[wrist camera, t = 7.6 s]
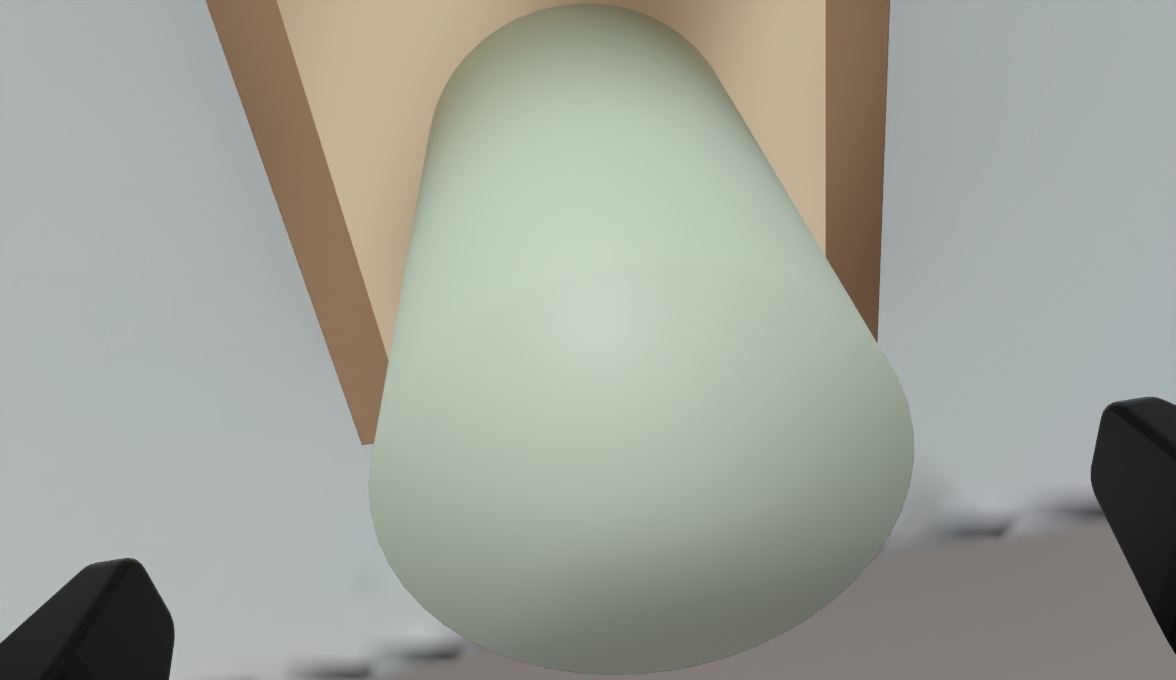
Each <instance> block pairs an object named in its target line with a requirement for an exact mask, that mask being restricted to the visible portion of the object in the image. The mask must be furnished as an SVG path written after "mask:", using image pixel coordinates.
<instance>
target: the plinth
mask: <svg viewBox="0 0 1176 680" xmlns="http://www.w3.org/2000/svg"><path fill="white" fill-rule="evenodd" d="M206 2H207V5H208V8H209V11H210V14H211V16H212V19H213V22H214V25H215V28H216V31H217V34H218V36H219V39H220V42H221V45H222V48H223V51H224V54H225V56H226V59H227V62H228V65H229V68H230V71H231V73H232V76H233V79H234V82H235V85H236V88H237V91H238V93H239V96H240V99H241V102H242V105H243V108H244V110H245V113H246V116H247V119H248V122H249V125H250V128H251V130H252V133H253V136H254V139H255V142H256V145H257V147H258V150H259V153H260V156H261V159H262V162H263V165H264V167H265V170H266V173H267V176H268V179H269V182H270V184H271V187H272V190H273V193H274V196H275V199H276V202H277V204H278V207H279V210H280V213H281V216H282V219H283V222H284V224H285V227H286V230H287V233H288V236H289V239H290V241H291V244H292V247H293V250H294V253H295V256H296V259H297V261H298V264H299V267H300V270H301V273H302V276H303V278H304V281H305V284H306V287H307V290H308V293H309V296H310V298H311V301H312V304H313V307H314V310H315V313H316V315H317V318H318V321H319V324H320V327H321V330H322V333H323V335H324V338H325V341H326V344H327V347H328V350H329V353H330V355H331V358H332V361H333V364H334V367H335V370H336V372H337V375H338V378H339V381H340V384H341V387H342V390H343V392H344V395H345V398H346V401H347V404H348V407H349V409H350V412H351V415H352V418H353V421H354V424H355V427H356V429H357V432H358V435H359V438H360V441H361V444H362V445H366V444H373V443H374V441H375V436H376V430H377V424H378V419H379V413H380V408H381V402H382V396H383V391H384V385H385V379H386V374H387V368H388V363H389V357H390V351H391V346H392V340H393V334H394V329H395V323H396V318H397V312H398V306H399V301H400V295H401V289H402V284H403V278H404V273H405V267H406V261H407V256H408V250H409V244H410V239H411V233H412V228H413V222H414V216H415V211H416V205H417V199H418V194H419V188H420V183H421V177H422V171H423V166H424V160H425V154H426V149H427V143H428V138H429V132H430V127H431V123H432V119H433V115H434V111H435V108H436V105H437V103H438V101H439V98H440V96H441V93H442V91H443V89H444V87H445V86H446V84H447V82H448V80H449V79H450V77H451V75H452V73H453V72H454V71H455V69H456V68H457V67H458V66H459V64H460V63H461V62H462V61H463V59H464V58H465V57H466V56H467V55H468V54H469V53H470V52H471V51H472V50H473V49H474V48H475V47H476V46H477V45H478V44H479V43H480V42H481V41H482V40H484V39H485V38H486V37H488V36H489V35H491V34H492V33H493V32H495V31H496V30H497V29H499V28H501V27H502V26H504V25H506V24H508V23H510V22H512V21H513V20H515V19H517V18H519V17H522V16H525V15H527V14H530V13H533V12H535V11H538V10H542V9H546V8H550V7H555V6H559V5H568V4H579V3H590V4H606V5H612V6H617V7H623V8H627V9H630V10H633V11H636V12H639V13H643V14H646V15H648V16H650V17H652V18H654V19H656V20H658V21H660V22H662V23H664V24H666V25H667V26H669V27H670V28H672V29H673V30H675V31H676V32H678V33H679V34H681V35H682V36H683V37H685V38H686V39H687V40H688V41H689V42H690V43H691V44H692V45H693V46H694V47H696V48H697V49H698V50H699V52H700V53H701V54H702V55H703V56H704V58H705V59H706V60H707V61H708V62H709V64H710V65H711V66H712V68H713V70H714V71H715V73H716V75H717V76H718V78H719V79H720V81H721V83H722V84H723V86H724V88H725V89H726V91H727V93H728V94H729V96H730V98H731V100H732V101H733V103H734V105H735V106H736V108H737V110H738V111H739V113H740V115H741V116H742V118H743V120H744V121H745V123H746V125H747V126H748V128H749V130H750V131H751V133H752V135H753V136H754V138H755V140H756V141H757V143H758V145H759V146H760V148H761V150H762V151H763V153H764V155H765V156H766V158H767V160H768V161H769V163H770V165H771V166H772V168H773V170H774V171H775V173H776V175H777V176H778V178H779V180H780V181H781V183H782V185H783V186H784V188H785V190H786V191H787V193H788V195H789V196H790V198H791V200H792V202H793V203H794V205H795V207H796V208H797V210H798V212H799V213H800V215H801V217H802V218H803V220H804V222H805V223H806V225H807V227H808V228H809V230H810V232H811V233H812V235H813V237H814V238H815V240H816V242H817V243H818V245H819V247H820V248H821V250H822V252H823V253H824V255H825V257H826V258H827V260H828V262H829V263H830V265H831V267H832V268H833V270H834V272H835V273H836V275H837V277H838V278H839V280H840V282H841V283H842V285H843V287H844V288H845V290H846V292H847V293H848V295H849V297H850V299H851V300H852V302H853V304H854V305H855V307H856V309H857V310H858V312H859V314H860V315H861V317H862V319H863V320H864V322H865V324H866V325H867V327H868V329H869V330H870V332H871V334H872V335H873V337H874V339H875V340H876V342H877V340H878V313H879V286H880V259H881V232H882V205H883V177H884V150H885V123H886V96H887V69H888V42H889V15H890V0H206Z"/></svg>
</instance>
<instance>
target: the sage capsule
mask: <svg viewBox="0 0 1176 680" xmlns="http://www.w3.org/2000/svg"><path fill="white" fill-rule="evenodd" d="M913 461H914V432H913V426H912V421H911V416H910V411H909V406H908V402H907V400H906V397H905V395H904V392H903V390H902V387H901V384H900V382H899V379H898V377H897V375H896V374H895V372H894V370H893V369H892V367H891V365H890V364H889V362H888V360H887V359H886V357H885V355H884V354H883V352H882V350H881V349H880V347H879V345H878V344H877V342H876V340H875V339H874V337H873V335H872V334H871V332H870V330H869V329H868V327H867V325H866V324H865V322H864V320H863V319H862V317H861V315H860V314H859V312H858V310H857V309H856V307H855V305H854V304H853V302H852V300H851V299H850V297H849V295H848V293H847V292H846V290H845V288H844V287H843V285H842V283H841V282H840V280H839V278H838V277H837V275H836V273H835V272H834V270H833V268H832V267H831V265H830V263H829V262H828V260H827V258H826V257H825V255H824V253H823V252H822V250H821V248H820V247H819V245H818V243H817V242H816V240H815V238H814V237H813V235H812V233H811V232H810V230H809V228H808V227H807V225H806V223H805V222H804V220H803V218H802V217H801V215H800V213H799V212H798V210H797V208H796V207H795V205H794V203H793V202H792V200H791V198H790V196H789V195H788V193H787V191H786V190H785V188H784V186H783V185H782V183H781V181H780V180H779V178H778V176H777V175H776V173H775V171H774V170H773V168H772V166H771V165H770V163H769V161H768V160H767V158H766V156H765V155H764V153H763V151H762V150H761V148H760V146H759V145H758V143H757V141H756V140H755V138H754V136H753V135H752V133H751V131H750V130H749V128H748V126H747V125H746V123H745V121H744V120H743V118H742V116H741V115H740V113H739V111H738V110H737V108H736V106H735V105H734V103H733V101H732V100H731V98H730V96H729V94H728V93H727V91H726V89H725V88H724V86H723V84H722V83H721V81H720V79H719V78H718V76H717V75H716V73H715V71H714V70H713V68H712V66H711V65H710V64H709V62H708V61H707V60H706V59H705V58H704V56H703V55H702V54H701V53H700V52H699V50H698V49H697V48H696V47H694V46H693V45H692V44H691V43H690V42H689V41H688V40H687V39H686V38H685V37H683V36H682V35H681V34H679V33H678V32H676V31H675V30H673V29H672V28H670V27H669V26H667V25H666V24H664V23H662V22H660V21H658V20H656V19H654V18H652V17H650V16H648V15H646V14H643V13H639V12H636V11H633V10H630V9H627V8H623V7H617V6H612V5H606V4H590V3H579V4H568V5H559V6H555V7H550V8H546V9H542V10H538V11H535V12H533V13H530V14H527V15H525V16H522V17H519V18H517V19H515V20H513V21H512V22H510V23H508V24H506V25H504V26H502V27H501V28H499V29H497V30H496V31H495V32H493V33H492V34H491V35H489V36H488V37H486V38H485V39H484V40H482V41H481V42H480V43H479V44H478V45H477V46H476V47H475V48H474V49H473V50H472V51H471V52H470V53H469V54H468V55H467V56H466V57H465V58H464V59H463V61H462V62H461V63H460V64H459V66H458V67H457V68H456V69H455V71H454V72H453V73H452V75H451V77H450V79H449V80H448V82H447V84H446V86H445V87H444V89H443V91H442V93H441V96H440V98H439V101H438V103H437V105H436V108H435V111H434V115H433V119H432V123H431V127H430V132H429V138H428V143H427V149H426V154H425V160H424V166H423V171H422V177H421V183H420V188H419V194H418V199H417V205H416V211H415V216H414V222H413V228H412V233H411V239H410V244H409V250H408V256H407V261H406V267H405V273H404V278H403V284H402V289H401V295H400V301H399V306H398V312H397V318H396V323H395V329H394V334H393V340H392V346H391V351H390V357H389V363H388V368H387V374H386V379H385V385H384V391H383V396H382V402H381V408H380V413H379V419H378V424H377V430H376V436H375V441H374V447H373V453H372V458H371V468H370V479H369V496H370V508H371V516H372V520H373V524H374V527H375V531H376V535H377V539H378V542H379V544H380V546H381V548H382V550H383V552H384V555H385V557H386V559H387V561H388V563H389V565H390V567H391V568H392V570H393V571H394V573H395V574H396V576H397V577H398V579H399V580H400V582H401V583H402V585H403V586H404V587H405V588H406V589H407V591H408V592H409V593H410V594H411V595H412V596H413V597H414V598H415V599H416V600H417V602H418V603H419V604H420V605H421V606H422V607H423V608H424V609H426V610H427V611H428V612H429V613H430V614H432V615H433V616H434V617H435V618H436V619H438V620H439V621H440V622H441V623H443V624H444V625H445V626H447V627H449V628H450V629H452V630H453V631H455V632H456V633H458V634H460V635H461V636H463V637H464V638H466V639H468V640H470V641H472V642H474V643H476V644H478V645H480V646H482V647H484V648H486V649H488V650H490V651H492V652H495V653H498V654H501V655H503V656H506V657H509V658H512V659H515V660H518V661H521V662H524V663H529V664H533V665H536V666H540V667H544V668H548V669H555V670H561V671H568V672H574V673H586V674H601V675H626V674H645V673H654V672H663V671H671V670H676V669H681V668H687V667H692V666H696V665H701V664H705V663H708V662H712V661H715V660H719V659H722V658H726V657H729V656H731V655H734V654H737V653H740V652H742V651H745V650H748V649H750V648H753V647H755V646H758V645H760V644H762V643H764V642H766V641H768V640H770V639H772V638H775V637H777V636H779V635H781V634H783V633H785V632H786V631H788V630H790V629H791V628H793V627H795V626H796V625H798V624H800V623H801V622H803V621H805V620H806V619H808V618H810V617H811V616H812V615H814V614H815V613H817V612H818V611H819V610H821V609H822V608H823V607H824V606H826V605H827V604H829V603H830V602H831V601H833V600H834V599H835V598H836V597H837V596H838V595H839V594H840V593H841V592H843V591H844V590H845V589H846V588H847V587H848V586H849V585H850V584H851V583H852V582H853V581H854V580H856V578H857V577H858V576H859V575H860V574H861V573H862V571H863V570H864V569H865V568H866V567H867V566H868V565H869V563H870V562H871V561H872V560H873V559H874V557H875V556H876V554H877V553H878V551H879V550H880V548H881V547H882V545H883V544H884V543H885V541H886V540H887V538H888V537H889V535H890V533H891V531H892V529H893V527H894V525H895V523H896V521H897V519H898V517H899V515H900V513H901V511H902V508H903V504H904V501H905V498H906V495H907V492H908V489H909V486H910V480H911V474H912V467H913Z"/></svg>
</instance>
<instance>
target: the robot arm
mask: <svg viewBox="0 0 1176 680" xmlns="http://www.w3.org/2000/svg"><path fill="white" fill-rule="evenodd" d="M1091 483H1092V487H1093V491H1094V494H1095V496H1096V498H1097V501H1098V503H1099V505H1100V507H1101V509H1102V511H1103V513H1104V515H1105V517H1106V519H1107V521H1108V523H1109V525H1110V527H1111V529H1112V531H1113V533H1114V535H1115V537H1116V539H1117V541H1118V543H1119V545H1120V547H1121V549H1122V551H1123V553H1124V555H1125V557H1126V559H1127V562H1128V564H1129V566H1130V568H1131V570H1132V572H1133V574H1134V576H1135V578H1136V580H1137V582H1138V584H1139V586H1140V588H1141V590H1142V592H1143V594H1144V596H1145V598H1146V600H1147V602H1148V604H1149V606H1150V608H1151V610H1152V612H1153V614H1154V616H1155V618H1156V620H1157V622H1158V624H1159V626H1160V627H1161V630H1162V631H1163V633H1164V635H1165V637H1166V639H1167V641H1168V642H1169V644H1170V646H1171V647H1172V649H1173V651H1174V652H1175V654H1176V405H1174V404H1172V403H1170V402H1168V401H1165V400H1163V399H1160V398H1157V397H1143V398H1136V399H1130V400H1124V401H1117V402H1113V403H1111V404H1109V405H1108V406H1107V407H1106V408H1105V410H1104V411H1103V414H1102V417H1101V421H1100V426H1099V431H1098V436H1097V441H1096V445H1095V450H1094V455H1093V460H1092V465H1091ZM174 638H175V635H174V624H173V620H172V617H171V614H170V612H169V610H168V608H167V607H166V605H165V603H164V601H163V600H162V598H161V596H160V594H159V593H158V591H157V589H156V587H155V586H154V584H153V582H152V580H151V578H150V577H149V575H148V573H147V571H146V570H145V568H144V567H143V565H142V564H141V563H140V562H138V561H137V560H135V559H132V558H123V559H117V560H110V561H104V562H98V563H94V564H91V565H89V566H87V567H85V568H84V569H83V570H81V571H80V572H79V573H78V574H77V575H76V576H75V577H73V578H72V579H71V580H70V581H69V582H68V583H67V584H66V585H65V586H63V587H62V588H61V589H60V590H59V591H58V592H57V593H56V594H55V595H53V596H52V597H51V598H50V599H49V600H48V601H47V602H46V603H45V604H43V605H42V606H41V607H40V608H39V609H38V610H37V611H36V612H35V613H33V614H32V615H31V616H30V617H29V618H28V619H27V620H26V621H25V622H23V623H22V624H21V625H20V626H19V627H18V628H17V629H16V630H15V631H13V632H12V633H11V634H10V635H9V636H8V637H7V638H6V639H5V640H4V641H2V642H1V643H0V680H169V675H170V668H171V661H172V654H173V647H174Z"/></svg>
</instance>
